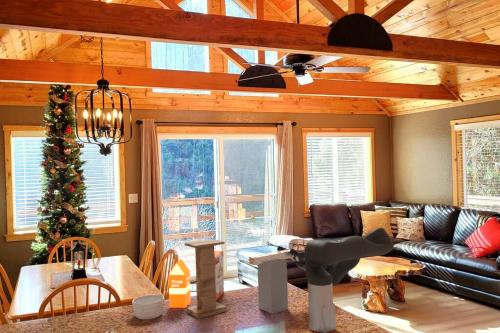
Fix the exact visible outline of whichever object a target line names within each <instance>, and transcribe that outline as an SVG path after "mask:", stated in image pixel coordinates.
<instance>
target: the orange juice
mask: <svg viewBox="0 0 500 333" xmlns="http://www.w3.org/2000/svg"><path fill="white" fill-rule="evenodd" d="M168 293H169V294H168V295H169V296H168V298H169V308H188V306H187V305H190V302H192V301H191V300H192V298H191V270H190V269H189V267H188V266H187V265H186V264H185V262H184V261H183V259H182V258H181V259H179V260H177V262H176V263H175V265H174V266H173V268H172V269H171V271H170V272H169V274H168Z"/></svg>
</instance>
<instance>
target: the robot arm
mask: <svg viewBox="0 0 500 333" xmlns="http://www.w3.org/2000/svg"><path fill="white" fill-rule="evenodd" d="M394 248H395V245H394V241H393V240H392V239H391V236H389V234H388V233H387V231H386V229H385V228H383V227H377V228H374V229H373V230H371V231H370V232H369V233H368V234H366V235H365V236H364V237H362V236H360V235H352V236H351V235H350V236H346V237H344V238H342V239H341V240H340V241H337V242H334V241H328V240H321V239H310V240H308V241H307V242H306V244H305V246H304V251H297V250H295V249H294V248H289V250H290V252H289V253H290V254H292V255H294V257H293V258H290V259H291V260H292V261H294V262H295V265H296V267H298V268H300V269H302V270H304V271H305V275H306V278H307V294H308V295H307V296H308V297H307V298H308V299H307V300H308V328H309V330H311V331H314V332H317V333H329V332H331V331H335V330H336V329H337V326H336V325H337V324H336V322H337V321H336V304H335V303H334V294H333V292H334V290H333V289H334V288H333V287H334V286H337V285H338V284H339V283H340V282H341V281H342V280H343V278H344V277H345V276H346V275H347V273H349V272H351V271H352V270H353V269H355V268H356V267H357V266H358V265H359V263H360V261H361V259H362V258H365V257H377V256H378V257H379V256H384V255H386V254H389V253H391V251H393V250H394ZM276 250H277V251H283V250H288V249H286V248H284V247H283V246H280V245H278V246H277V249H276Z"/></svg>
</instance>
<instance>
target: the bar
mask: <svg viewBox="0 0 500 333" xmlns="http://www.w3.org/2000/svg"><path fill="white" fill-rule="evenodd" d="M289 252H290V248H288V249H287V250H283V251H278V250H277V251H273V252H272V251H271V252H267V253H262V254H256V255H251V256H248V264H249V265H252V266H256V265H257V266H258V264H263V263H268V262H273V261H278V260H287V259H291V258H293V257H294V255H292V254H290V253H289Z"/></svg>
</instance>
